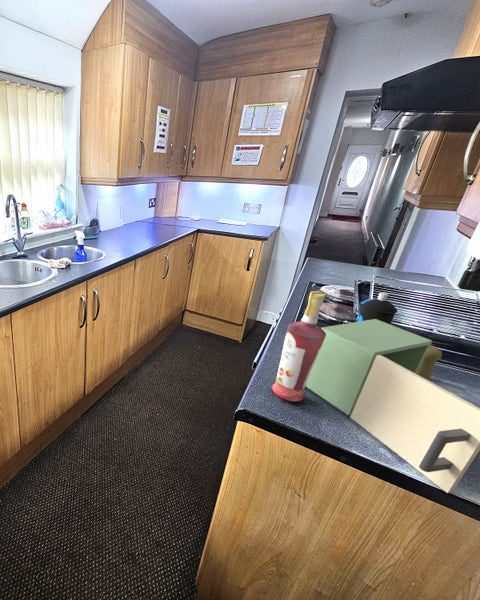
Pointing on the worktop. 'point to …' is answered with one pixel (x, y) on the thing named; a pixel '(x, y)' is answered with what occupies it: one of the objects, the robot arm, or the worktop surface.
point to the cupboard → (360, 358)
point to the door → (419, 422)
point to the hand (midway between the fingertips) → (468, 289)
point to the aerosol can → (377, 309)
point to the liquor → (300, 352)
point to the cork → (429, 362)
